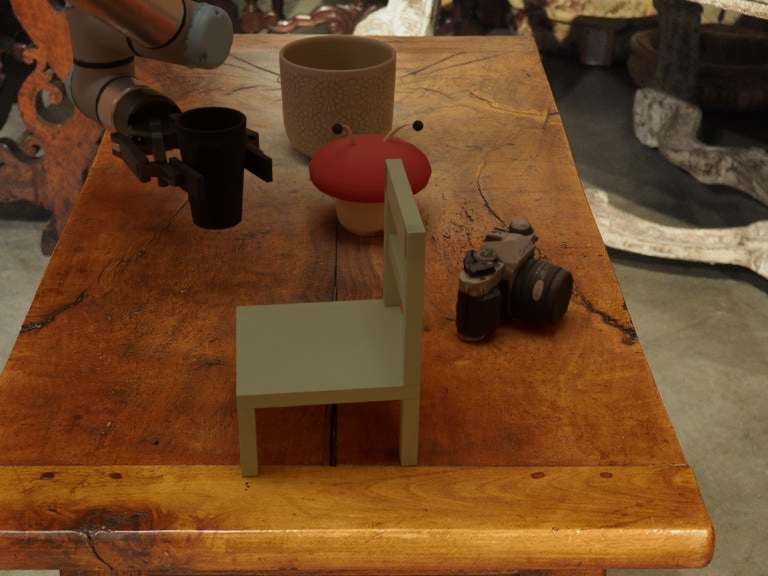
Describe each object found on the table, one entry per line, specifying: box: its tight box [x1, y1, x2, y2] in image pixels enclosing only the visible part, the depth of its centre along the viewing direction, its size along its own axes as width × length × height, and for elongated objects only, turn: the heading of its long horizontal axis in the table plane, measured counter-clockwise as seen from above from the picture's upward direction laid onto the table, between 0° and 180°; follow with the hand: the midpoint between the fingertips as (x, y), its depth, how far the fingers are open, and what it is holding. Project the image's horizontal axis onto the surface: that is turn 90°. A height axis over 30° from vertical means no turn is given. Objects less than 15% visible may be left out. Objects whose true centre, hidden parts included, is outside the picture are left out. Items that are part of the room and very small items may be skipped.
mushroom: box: [308, 119, 433, 237], centre depth 137 cm, size 16×16×15 cm
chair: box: [235, 159, 427, 478], centre depth 98 cm, size 16×15×24 cm
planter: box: [278, 34, 397, 159], centre depth 158 cm, size 17×17×15 cm
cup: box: [175, 106, 248, 231], centre depth 118 cm, size 8×8×12 cm
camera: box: [455, 217, 574, 342], centre depth 118 cm, size 16×10×10 cm, turn 150°
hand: (236, 179), depth 115 cm, fingers closed on cup, 8 cm apart
